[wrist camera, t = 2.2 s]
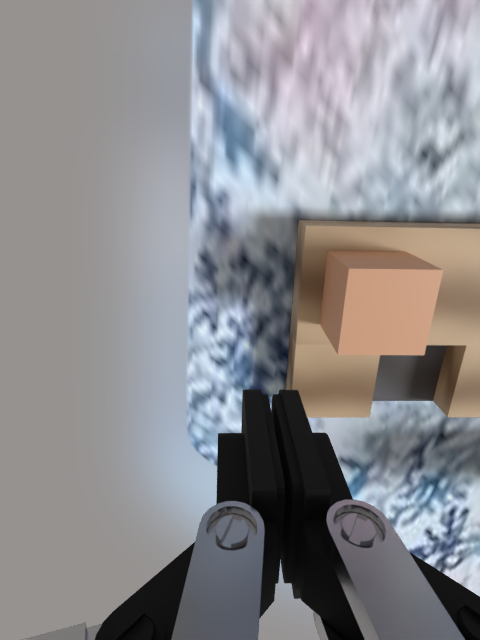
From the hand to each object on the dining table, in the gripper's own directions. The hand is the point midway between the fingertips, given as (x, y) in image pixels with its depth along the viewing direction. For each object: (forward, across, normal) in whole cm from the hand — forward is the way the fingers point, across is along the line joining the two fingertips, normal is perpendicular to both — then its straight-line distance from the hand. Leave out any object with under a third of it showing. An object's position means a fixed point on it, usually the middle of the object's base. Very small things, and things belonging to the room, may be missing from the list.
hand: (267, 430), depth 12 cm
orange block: (+14, -8, 0) cm, 16 cm away
